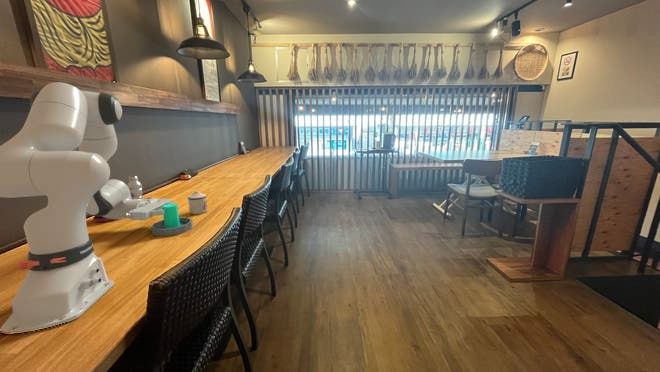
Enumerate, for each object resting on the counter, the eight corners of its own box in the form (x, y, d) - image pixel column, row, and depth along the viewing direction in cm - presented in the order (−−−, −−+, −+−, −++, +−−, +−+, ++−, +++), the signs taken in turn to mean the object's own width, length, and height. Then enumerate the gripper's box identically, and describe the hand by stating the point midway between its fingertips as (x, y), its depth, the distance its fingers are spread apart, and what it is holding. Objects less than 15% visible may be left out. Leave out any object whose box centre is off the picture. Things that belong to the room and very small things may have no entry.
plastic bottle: (133, 211, 142) (127, 175, 137) (148, 210, 144) (142, 175, 139) (128, 215, 136) (122, 177, 131) (143, 214, 138) (137, 177, 133)
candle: (172, 230, 113) (169, 204, 111) (161, 229, 115) (157, 203, 112) (183, 225, 119) (180, 200, 117) (172, 224, 121) (169, 199, 118)
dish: (190, 233, 113) (189, 226, 112) (148, 238, 107) (147, 231, 107) (194, 221, 127) (193, 215, 126) (157, 225, 121) (156, 219, 121)
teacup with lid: (207, 213, 139) (205, 192, 137) (188, 215, 136) (186, 194, 133) (208, 207, 150) (206, 187, 147) (190, 209, 146) (187, 189, 144)
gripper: (120, 209, 104) (154, 209, 104) (153, 196, 124) (182, 196, 124) (122, 224, 105) (157, 224, 106) (155, 208, 125) (184, 208, 126)
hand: (171, 209), depth 115 cm, fingers open, 8 cm apart
